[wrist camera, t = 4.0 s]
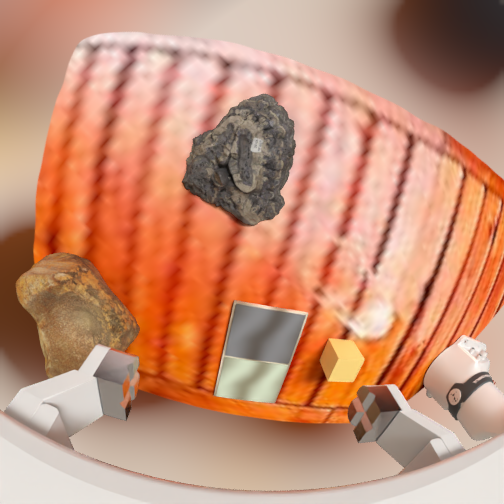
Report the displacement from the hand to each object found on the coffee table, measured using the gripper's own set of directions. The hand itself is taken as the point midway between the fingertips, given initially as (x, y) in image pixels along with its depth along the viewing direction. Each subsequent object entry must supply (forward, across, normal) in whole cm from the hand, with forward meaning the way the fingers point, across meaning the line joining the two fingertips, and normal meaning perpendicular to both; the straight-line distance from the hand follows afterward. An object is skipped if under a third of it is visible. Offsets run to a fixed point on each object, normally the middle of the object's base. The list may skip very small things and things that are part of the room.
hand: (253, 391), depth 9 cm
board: (+32, -7, +23) cm, 40 cm away
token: (+32, -21, +19) cm, 43 cm away
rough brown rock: (+32, +21, +19) cm, 43 cm away
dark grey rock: (+33, +2, -9) cm, 34 cm away
